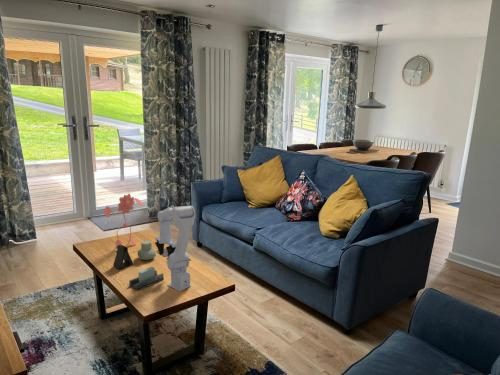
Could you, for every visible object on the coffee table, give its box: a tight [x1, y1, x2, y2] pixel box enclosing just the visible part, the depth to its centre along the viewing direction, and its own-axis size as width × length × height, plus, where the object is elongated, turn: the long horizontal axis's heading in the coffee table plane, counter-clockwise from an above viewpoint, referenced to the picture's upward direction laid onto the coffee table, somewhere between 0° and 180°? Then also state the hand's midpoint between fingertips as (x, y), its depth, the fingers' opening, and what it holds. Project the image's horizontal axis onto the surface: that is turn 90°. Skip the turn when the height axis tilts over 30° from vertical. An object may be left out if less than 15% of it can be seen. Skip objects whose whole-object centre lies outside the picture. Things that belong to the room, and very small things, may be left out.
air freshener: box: [137, 240, 157, 261], centre depth 221 cm, size 11×8×10 cm
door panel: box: [138, 266, 156, 283], centre depth 192 cm, size 2×8×6 cm, turn 140°
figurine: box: [103, 193, 145, 253], centre depth 231 cm, size 15×26×35 cm, turn 145°
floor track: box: [128, 269, 165, 291], centre depth 193 cm, size 7×16×3 cm, turn 141°
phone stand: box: [112, 244, 134, 271], centre depth 210 cm, size 9×6×12 cm, turn 141°
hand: (165, 256), depth 203 cm, fingers open, 7 cm apart
